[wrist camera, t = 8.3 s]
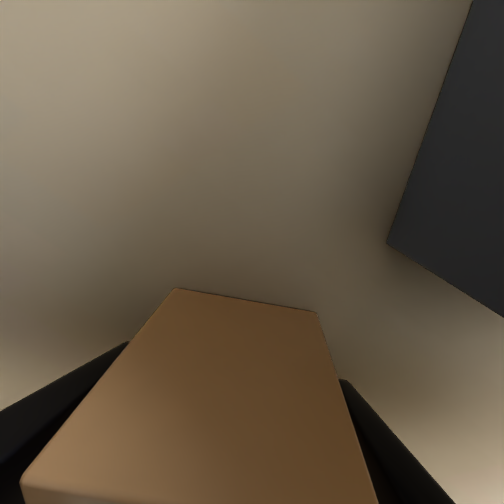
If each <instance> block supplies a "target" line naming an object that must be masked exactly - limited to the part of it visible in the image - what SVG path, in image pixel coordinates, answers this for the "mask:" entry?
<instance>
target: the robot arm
mask: <svg viewBox="0 0 504 504" xmlns="http://www.w3.org/2000/svg"><path fill="white" fill-rule="evenodd" d="M129 343H130V341H127V342H124V343H122V344H121V345H119V346H117V347H115V348H113V349H112V350H110V351H108V352H106V353H104V354H103V355H101V356H99V357H97V358H95V359H94V360H92V361H90V362H88V363H86V364H85V365H83V366H81V367H79V368H77V369H76V370H74V371H72V372H70V373H68V374H67V375H65V376H63V377H61V378H59V379H58V380H56V381H54V382H52V383H50V384H49V385H47V386H45V387H43V388H41V389H39V390H38V391H36V392H34V393H32V394H30V395H29V396H27V397H25V398H23V399H21V400H20V401H18V402H16V403H14V404H12V405H11V406H9V407H7V408H5V409H3V410H2V411H0V504H25V501H24V497H23V494H22V490H21V487H20V483H19V482H20V479H21V477H22V475H23V473H24V472H25V470H26V469H27V468H28V467H29V466H30V464H31V463H32V462H33V461H34V459H35V458H36V457H37V456H38V454H39V453H40V452H41V451H42V450H43V448H44V447H45V446H46V445H47V443H48V442H49V441H50V440H51V438H52V437H53V436H54V435H55V434H56V432H57V431H58V430H59V429H60V427H61V426H62V425H63V424H64V422H65V421H66V420H67V419H68V418H69V416H70V415H71V414H72V413H73V411H74V410H75V409H76V408H77V407H78V405H79V404H80V403H81V402H82V400H83V399H84V398H85V397H86V395H87V394H88V393H89V392H90V391H91V389H92V388H93V387H94V386H95V384H96V383H97V382H98V381H99V379H100V378H101V377H102V376H103V375H104V373H105V372H106V371H107V370H108V368H109V367H110V366H111V365H112V363H113V362H114V361H115V360H116V359H117V357H118V356H119V355H120V354H121V352H122V351H123V350H124V349H125V347H126V346H127V345H128V344H129ZM338 380H339V383H340V386H341V389H342V392H343V395H344V398H345V402H346V405H347V408H348V411H349V414H350V417H351V420H352V423H353V426H354V429H355V432H356V435H357V438H358V441H359V444H360V448H361V451H362V454H363V457H364V460H365V463H366V466H367V469H368V472H369V475H370V478H371V481H372V484H373V487H374V491H375V494H376V497H377V500H378V503H379V504H455V503H454V501H453V500H452V499H451V498H450V497H449V496H448V495H447V493H446V492H445V491H444V490H443V489H442V488H441V487H440V485H439V484H438V483H437V482H436V481H435V480H434V479H433V477H432V476H431V475H430V474H429V473H428V472H427V471H426V469H425V468H424V467H423V466H422V465H421V464H420V463H419V461H418V460H417V459H416V458H415V457H414V456H413V455H412V453H411V452H410V451H409V450H408V449H407V448H406V447H405V445H404V444H403V443H402V442H401V441H400V440H399V439H398V437H397V436H396V435H395V434H394V433H393V432H392V431H391V429H390V428H389V427H388V426H387V425H386V424H385V423H384V421H383V420H382V419H381V418H380V417H379V416H378V415H377V413H376V412H375V411H374V410H373V409H372V408H371V407H370V405H369V404H368V403H367V402H366V401H365V400H364V399H363V397H362V396H361V395H360V394H359V393H358V392H357V391H356V389H355V388H354V387H353V386H352V385H351V384H350V383H349V382H348V381H347V380H343V379H338Z"/></svg>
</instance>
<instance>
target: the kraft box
mask: <svg viewBox="0 0 504 504" xmlns="http://www.w3.org/2000/svg"><path fill="white" fill-rule="evenodd" d="M19 483H20V487H21V490H22V494H23V497H24V501H25V504H379V503H378V500H377V497H376V494H375V491H374V487H373V484H372V481H371V478H370V475H369V472H368V469H367V466H366V463H365V460H364V457H363V454H362V451H361V448H360V444H359V441H358V438H357V435H356V432H355V429H354V426H353V423H352V420H351V417H350V414H349V411H348V408H347V405H346V402H345V398H344V395H343V392H342V389H341V386H340V383H339V380H338V377H337V374H336V371H335V368H334V365H333V362H332V359H331V355H330V352H329V349H328V346H327V343H326V340H325V337H324V334H323V331H322V328H321V325H320V322H319V319H318V316H317V313H315V312H311V311H305V310H299V309H293V308H288V307H282V306H276V305H270V304H264V303H259V302H253V301H247V300H241V299H236V298H230V297H224V296H218V295H213V294H207V293H201V292H195V291H190V290H184V289H178V288H174V289H173V290H172V291H171V292H170V293H169V295H168V296H167V297H166V298H165V300H164V301H163V302H162V303H161V304H160V306H159V307H158V308H157V309H156V311H155V312H154V313H153V314H152V316H151V317H150V318H149V319H148V320H147V322H146V323H145V324H144V325H143V327H142V328H141V329H140V330H139V332H138V333H137V334H136V335H135V336H134V338H133V339H132V340H131V341H130V343H129V344H128V345H127V346H126V347H125V349H124V350H123V351H122V352H121V354H120V355H119V356H118V357H117V359H116V360H115V361H114V362H113V363H112V365H111V366H110V367H109V368H108V370H107V371H106V372H105V373H104V375H103V376H102V377H101V378H100V379H99V381H98V382H97V383H96V384H95V386H94V387H93V388H92V389H91V391H90V392H89V393H88V394H87V395H86V397H85V398H84V399H83V400H82V402H81V403H80V404H79V405H78V407H77V408H76V409H75V410H74V411H73V413H72V414H71V415H70V416H69V418H68V419H67V420H66V421H65V422H64V424H63V425H62V426H61V427H60V429H59V430H58V431H57V432H56V434H55V435H54V436H53V437H52V438H51V440H50V441H49V442H48V443H47V445H46V446H45V447H44V448H43V450H42V451H41V452H40V453H39V454H38V456H37V457H36V458H35V459H34V461H33V462H32V463H31V464H30V466H29V467H28V468H27V469H26V470H25V472H24V473H23V475H22V477H21V479H20V482H19Z"/></svg>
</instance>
